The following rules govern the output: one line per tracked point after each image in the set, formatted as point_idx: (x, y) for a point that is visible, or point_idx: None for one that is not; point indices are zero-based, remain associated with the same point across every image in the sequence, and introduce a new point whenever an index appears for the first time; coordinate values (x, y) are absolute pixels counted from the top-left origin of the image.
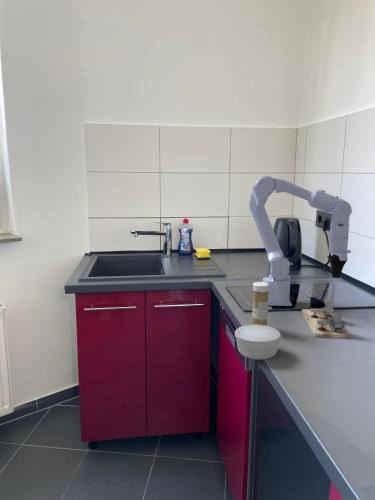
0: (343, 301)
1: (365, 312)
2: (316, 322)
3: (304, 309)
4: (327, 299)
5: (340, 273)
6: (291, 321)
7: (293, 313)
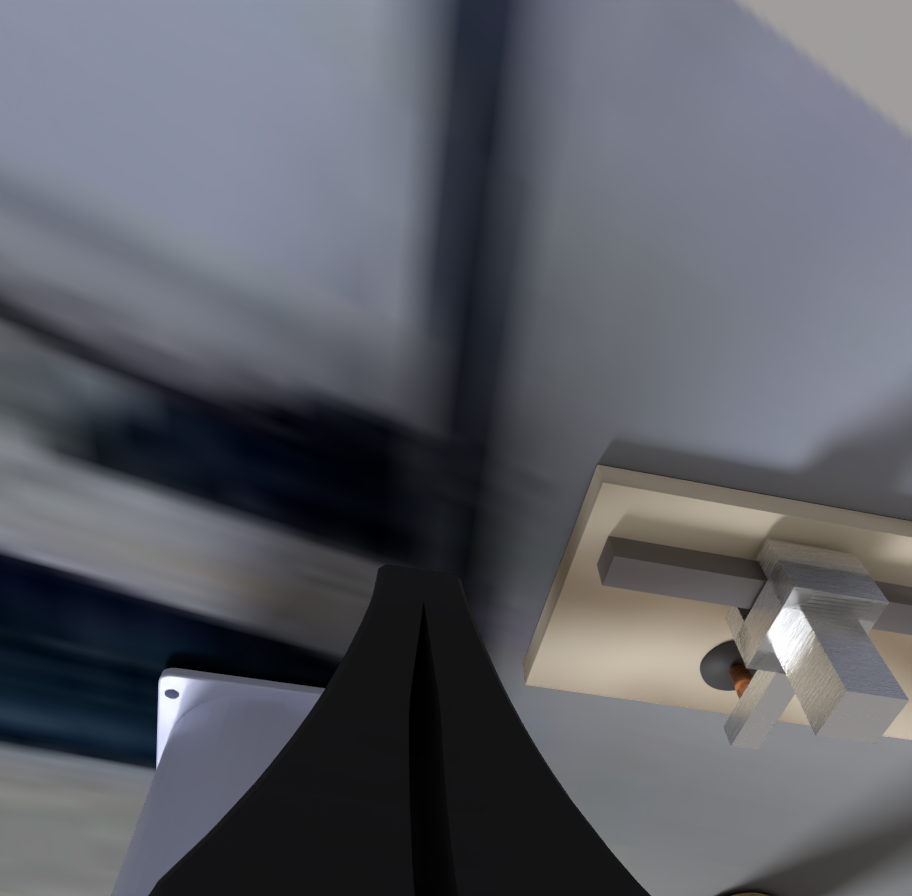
0: (192, 119)
1: (672, 46)
2: None
3: (538, 673)
4: (827, 721)
5: (476, 641)
6: (698, 769)
7: (542, 720)
